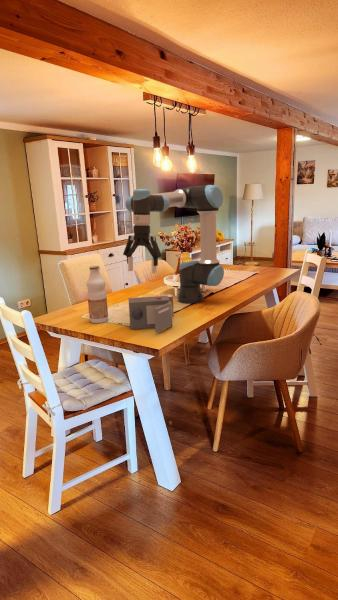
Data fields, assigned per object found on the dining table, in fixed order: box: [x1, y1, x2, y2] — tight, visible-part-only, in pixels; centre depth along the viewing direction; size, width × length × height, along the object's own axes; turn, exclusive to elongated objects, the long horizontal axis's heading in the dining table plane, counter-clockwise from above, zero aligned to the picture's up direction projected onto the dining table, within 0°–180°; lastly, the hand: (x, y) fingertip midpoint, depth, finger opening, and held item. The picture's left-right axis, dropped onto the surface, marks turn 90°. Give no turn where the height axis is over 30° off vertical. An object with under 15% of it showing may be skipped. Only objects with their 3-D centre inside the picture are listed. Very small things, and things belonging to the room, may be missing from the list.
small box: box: [155, 294, 175, 317], centre depth 206 cm, size 8×6×10 cm
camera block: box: [128, 295, 170, 331], centre depth 190 cm, size 19×10×14 cm, turn 97°
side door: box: [154, 301, 173, 334], centre depth 182 cm, size 12×1×12 cm, turn 147°
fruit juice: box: [86, 265, 109, 324], centre depth 199 cm, size 9×9×28 cm
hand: (142, 272), depth 183 cm, fingers open, 13 cm apart
